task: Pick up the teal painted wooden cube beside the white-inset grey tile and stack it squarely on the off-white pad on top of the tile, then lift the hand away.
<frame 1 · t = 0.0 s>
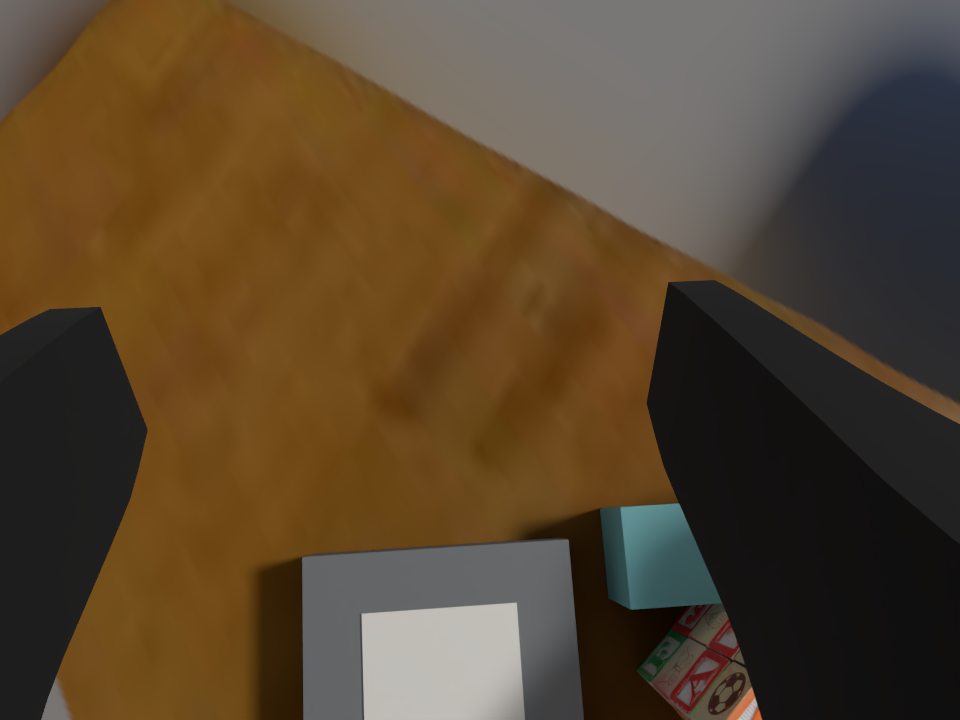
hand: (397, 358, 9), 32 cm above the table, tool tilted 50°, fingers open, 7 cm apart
teal cube: (646, 549, 41), on the table
white-inset grey tile: (443, 677, 39), on the table
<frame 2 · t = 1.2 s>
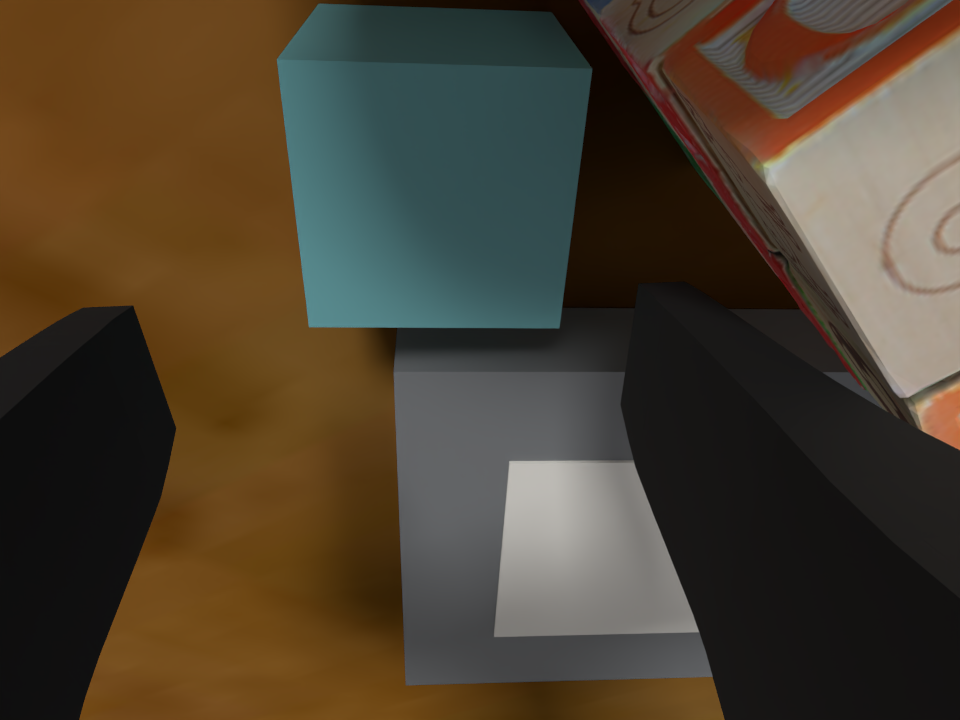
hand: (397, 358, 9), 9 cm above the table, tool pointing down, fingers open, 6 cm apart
teal cube: (435, 123, 17), on the table
white-inset grey tile: (611, 483, 24), on the table
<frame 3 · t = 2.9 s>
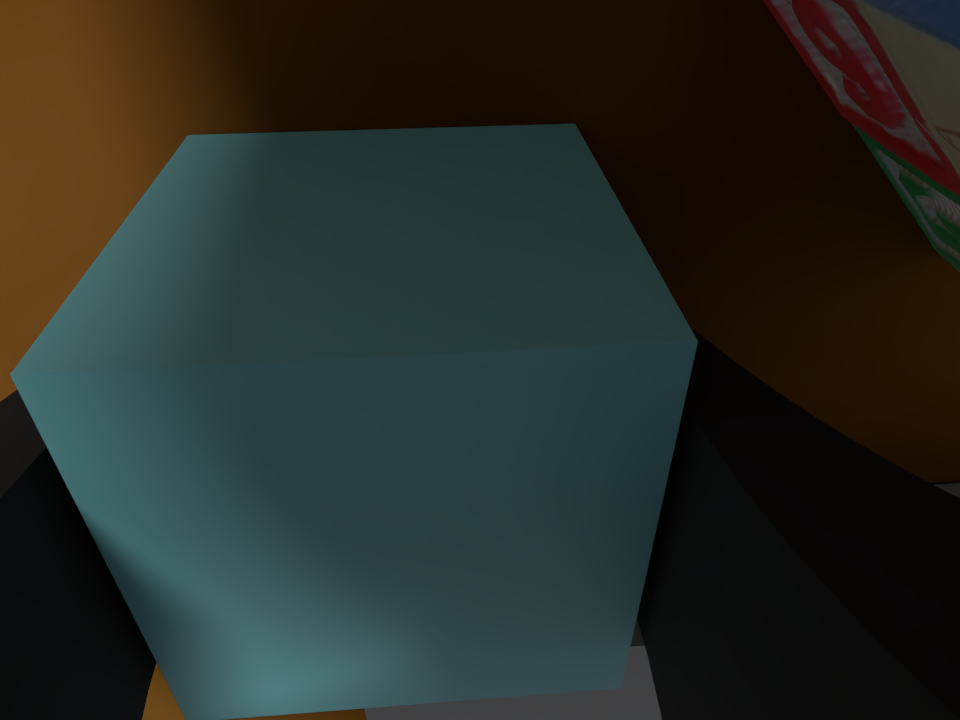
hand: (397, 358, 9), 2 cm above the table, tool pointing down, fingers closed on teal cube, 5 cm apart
teal cube: (398, 294, 11), on the table, touching gripper
white-inset grey tile: (666, 683, 18), on the table
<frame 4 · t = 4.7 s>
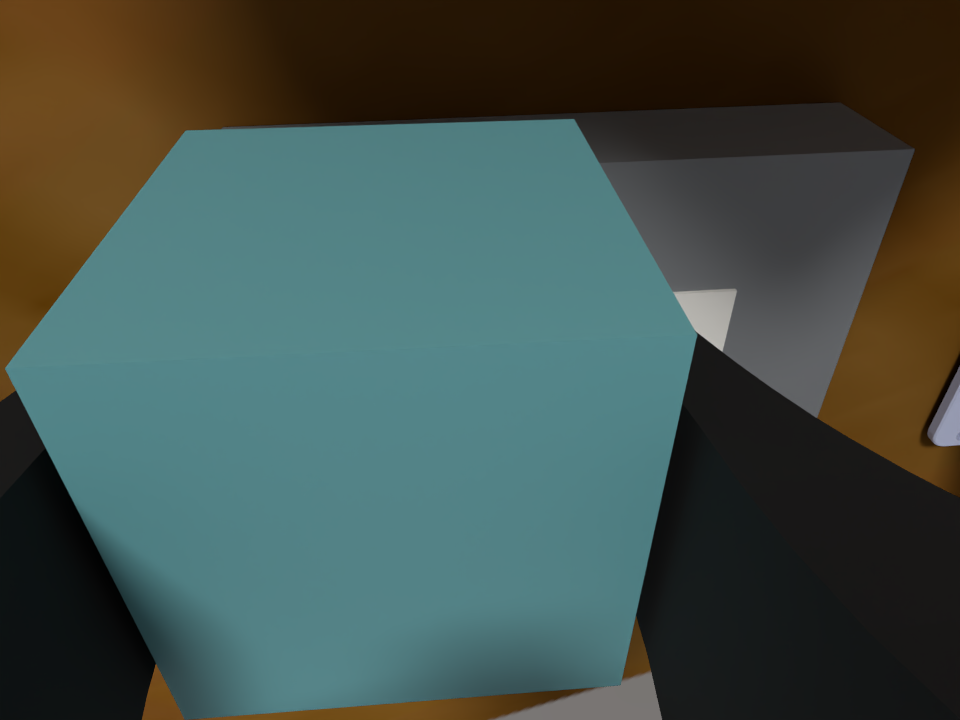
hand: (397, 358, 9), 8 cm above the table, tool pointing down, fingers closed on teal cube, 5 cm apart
teal cube: (397, 290, 11), point 7 cm above the table, touching gripper
white-inset grey tile: (530, 362, 20), on the table
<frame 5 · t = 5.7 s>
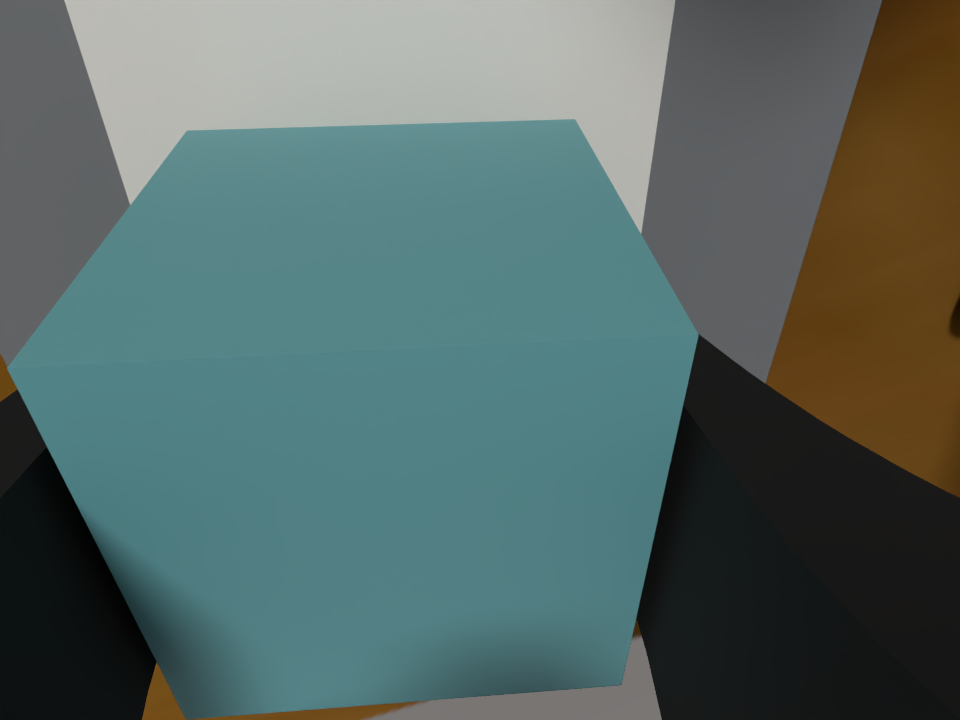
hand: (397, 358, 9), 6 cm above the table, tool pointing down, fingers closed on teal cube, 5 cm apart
teal cube: (398, 290, 11), point 4 cm above the table, touching gripper
white-inset grey tile: (401, 182, 14), on the table
when the fingers open (6 cm above the table, at t = 6.5 s): teal cube drops 1 cm, resting on white-inset grey tile.
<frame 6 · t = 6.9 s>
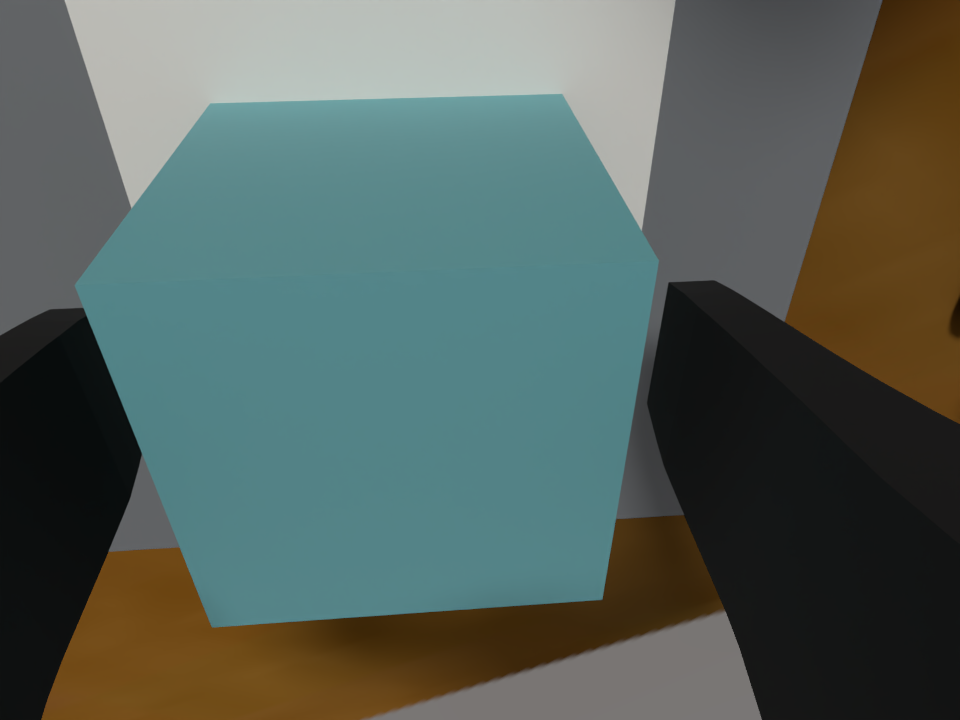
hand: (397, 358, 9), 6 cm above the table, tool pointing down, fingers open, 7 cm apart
teal cube: (401, 254, 12), point 3 cm above the table, touching white-inset grey tile
white-inset grey tile: (401, 182, 14), on the table
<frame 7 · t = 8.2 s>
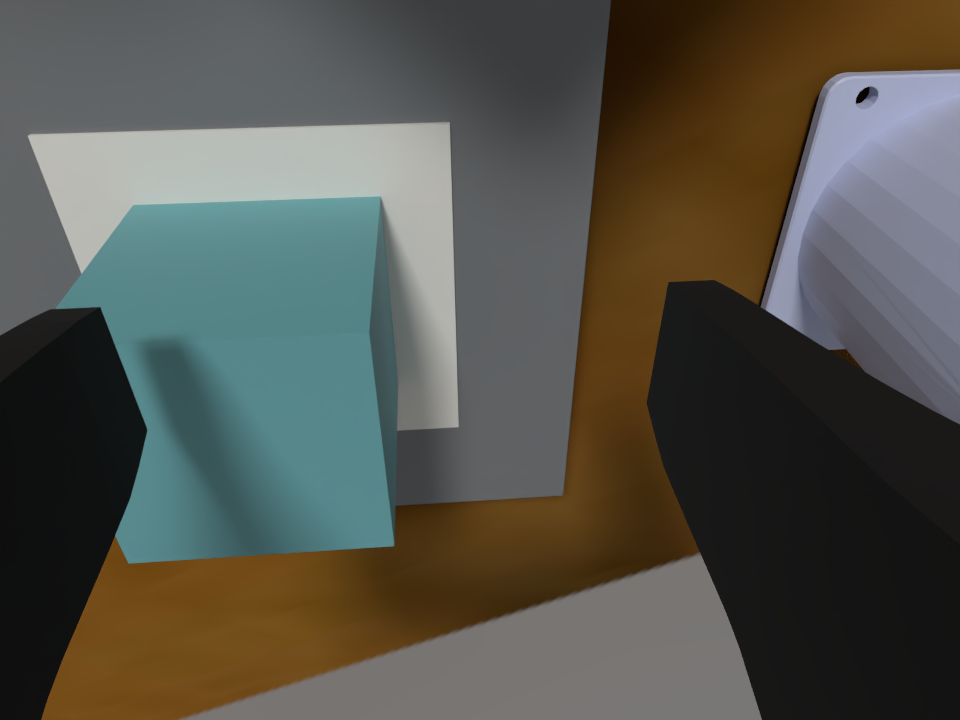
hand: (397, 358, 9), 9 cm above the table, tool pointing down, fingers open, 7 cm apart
teal cube: (279, 304, 16), point 3 cm above the table, touching white-inset grey tile
white-inset grey tile: (296, 242, 18), on the table
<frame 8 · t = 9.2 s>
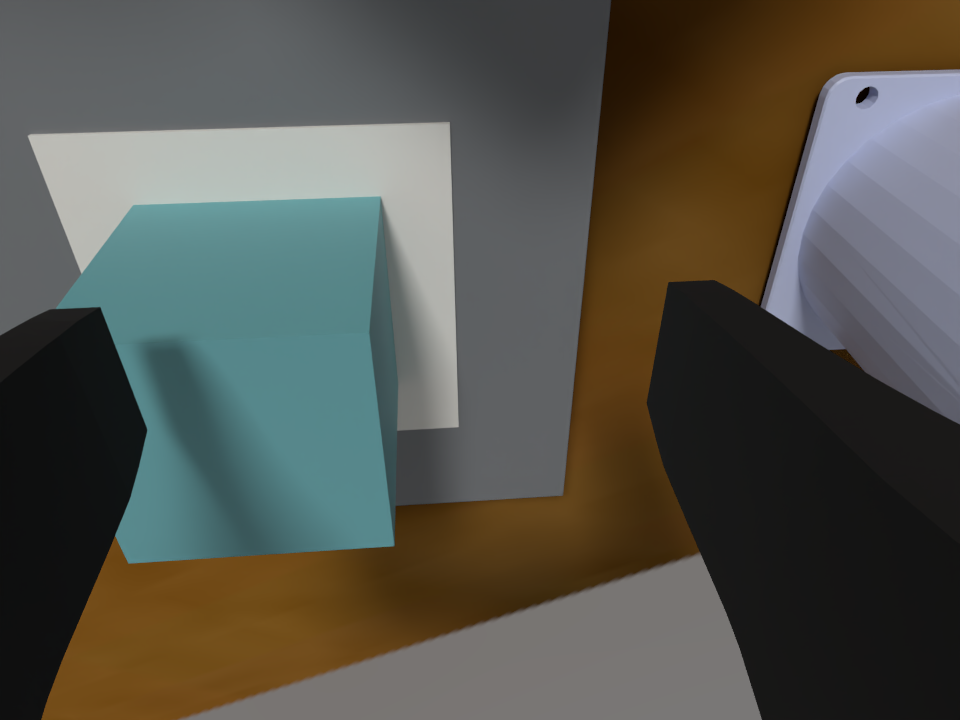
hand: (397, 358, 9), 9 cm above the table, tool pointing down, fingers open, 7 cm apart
teal cube: (279, 304, 16), point 3 cm above the table, touching white-inset grey tile
white-inset grey tile: (296, 242, 18), on the table
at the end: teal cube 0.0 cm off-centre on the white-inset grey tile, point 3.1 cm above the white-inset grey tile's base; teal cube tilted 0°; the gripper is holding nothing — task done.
